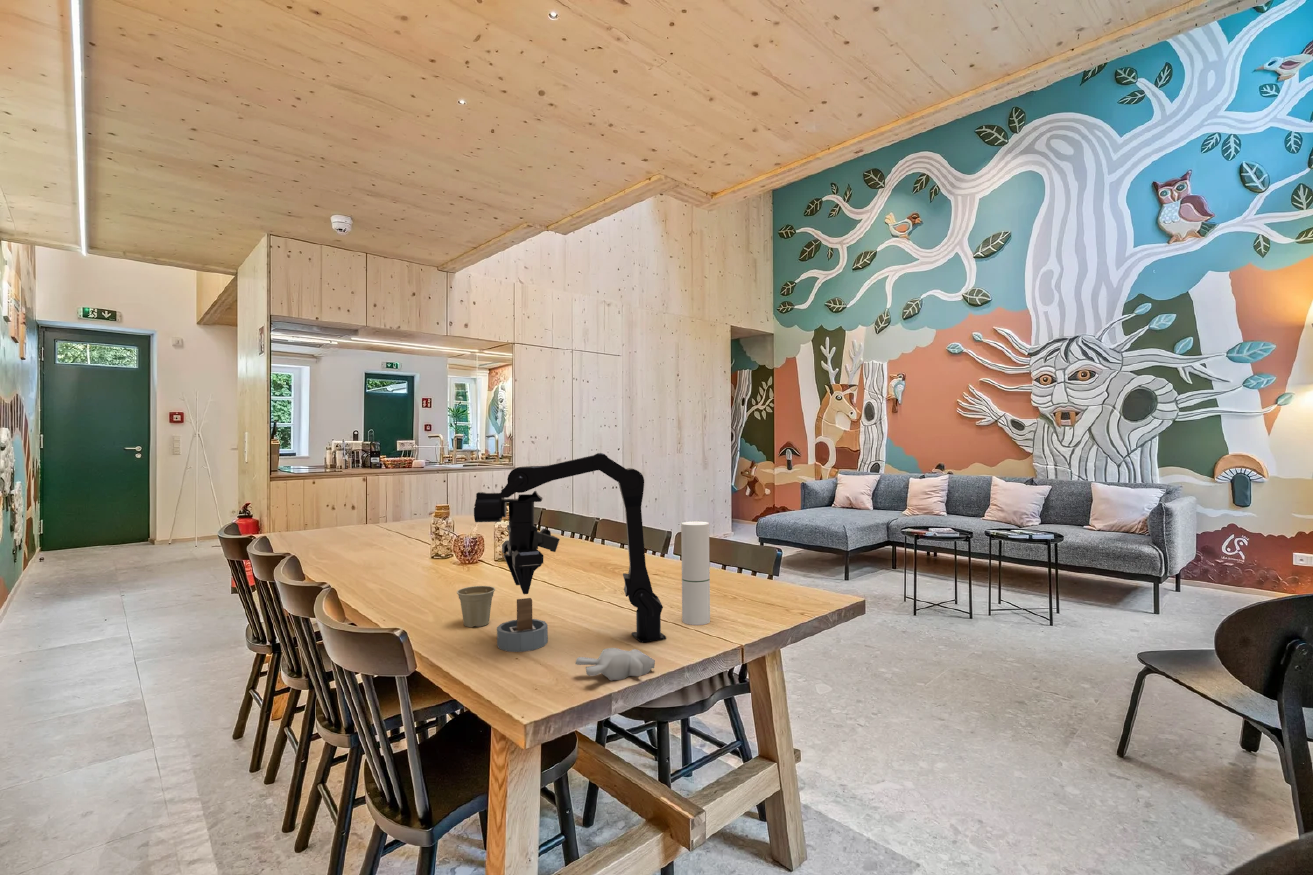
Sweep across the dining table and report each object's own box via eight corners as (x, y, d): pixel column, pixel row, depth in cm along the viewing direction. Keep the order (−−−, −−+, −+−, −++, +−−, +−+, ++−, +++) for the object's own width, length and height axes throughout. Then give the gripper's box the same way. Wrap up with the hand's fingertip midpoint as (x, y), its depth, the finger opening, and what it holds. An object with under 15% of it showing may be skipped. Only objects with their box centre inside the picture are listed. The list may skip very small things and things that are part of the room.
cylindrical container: (710, 617, 159) (709, 521, 159) (709, 625, 152) (708, 525, 152) (682, 616, 160) (682, 521, 160) (681, 624, 153) (680, 525, 153)
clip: (535, 639, 139) (535, 628, 139) (512, 643, 137) (511, 631, 137) (532, 635, 142) (532, 624, 142) (509, 638, 140) (509, 627, 140)
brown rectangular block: (532, 638, 140) (532, 599, 140) (518, 640, 138) (518, 601, 138) (531, 636, 141) (530, 597, 141) (517, 638, 140) (516, 599, 140)
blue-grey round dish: (551, 647, 137) (551, 629, 137) (501, 654, 132) (501, 636, 132) (541, 633, 147) (541, 616, 147) (494, 639, 142) (494, 622, 142)
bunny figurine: (662, 656, 119) (591, 660, 112) (660, 682, 119) (589, 689, 112) (640, 642, 128) (573, 645, 121) (638, 667, 127) (571, 672, 120)
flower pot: (449, 628, 151) (449, 593, 151) (469, 617, 161) (469, 584, 161) (483, 630, 149) (483, 595, 149) (501, 619, 158) (501, 586, 158)
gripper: (566, 524, 134) (566, 595, 134) (547, 515, 151) (547, 577, 151) (515, 527, 130) (515, 600, 130) (501, 517, 147) (501, 582, 147)
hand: (521, 589), depth 140 cm, fingers open, 9 cm apart
